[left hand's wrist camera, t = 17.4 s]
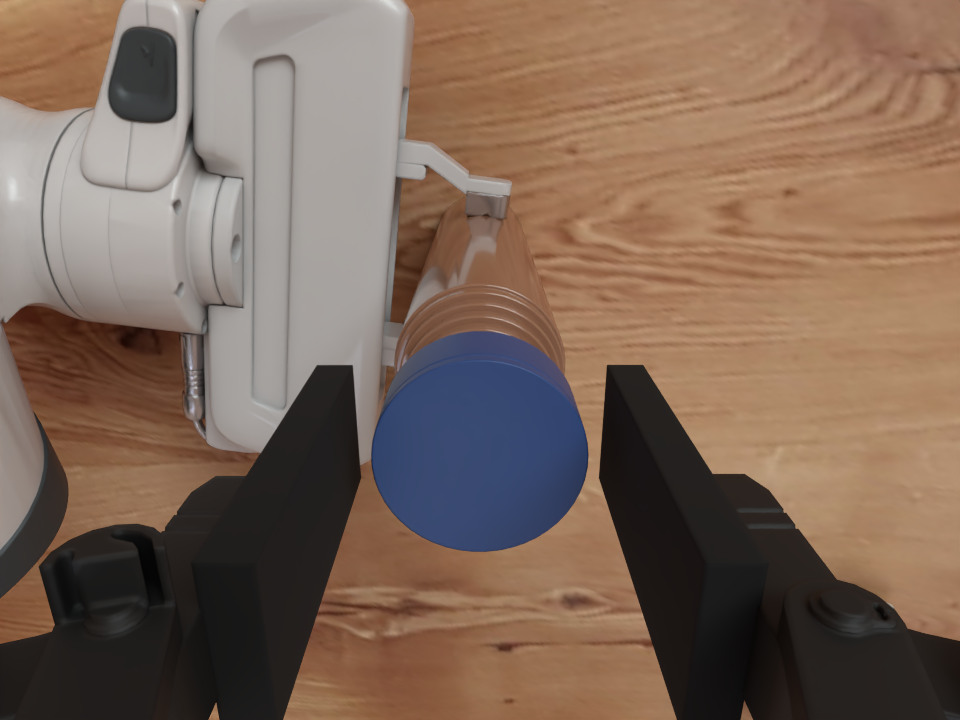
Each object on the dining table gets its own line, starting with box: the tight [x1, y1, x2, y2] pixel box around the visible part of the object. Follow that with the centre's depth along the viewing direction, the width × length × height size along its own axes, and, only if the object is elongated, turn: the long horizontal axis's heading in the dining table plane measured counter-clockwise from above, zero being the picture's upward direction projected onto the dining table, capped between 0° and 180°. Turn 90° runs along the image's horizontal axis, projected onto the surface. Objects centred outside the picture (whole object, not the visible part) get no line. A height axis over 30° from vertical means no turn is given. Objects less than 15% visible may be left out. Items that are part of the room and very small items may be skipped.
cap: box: [371, 331, 588, 552], centre depth 14 cm, size 4×4×2 cm
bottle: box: [394, 197, 565, 376], centre depth 24 cm, size 4×4×23 cm
